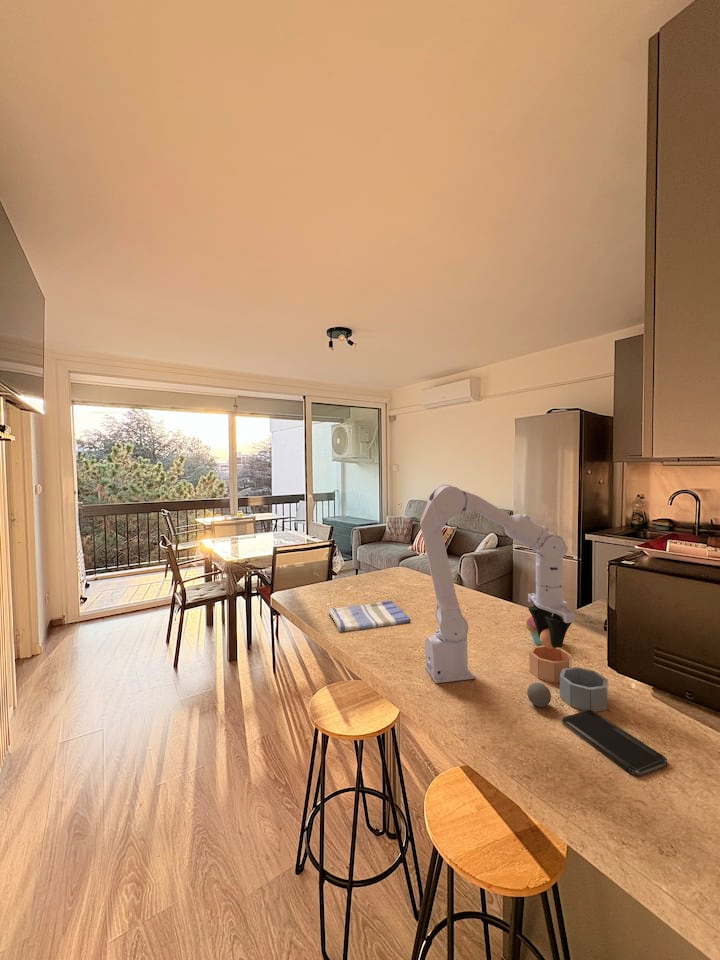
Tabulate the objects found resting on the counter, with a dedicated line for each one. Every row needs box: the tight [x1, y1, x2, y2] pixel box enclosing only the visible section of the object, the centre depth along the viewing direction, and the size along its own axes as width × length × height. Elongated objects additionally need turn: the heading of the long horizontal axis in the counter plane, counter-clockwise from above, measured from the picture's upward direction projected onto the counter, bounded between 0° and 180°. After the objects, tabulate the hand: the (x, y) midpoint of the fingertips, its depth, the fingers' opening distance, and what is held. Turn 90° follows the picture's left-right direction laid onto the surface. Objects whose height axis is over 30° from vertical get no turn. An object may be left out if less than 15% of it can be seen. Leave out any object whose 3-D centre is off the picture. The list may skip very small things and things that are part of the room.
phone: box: [561, 710, 668, 778], centre depth 72 cm, size 8×1×15 cm
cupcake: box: [525, 616, 543, 646], centre depth 111 cm, size 9×8×12 cm
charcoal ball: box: [527, 682, 552, 708], centre depth 83 cm, size 4×4×4 cm
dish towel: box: [327, 600, 412, 633], centre depth 133 cm, size 17×24×3 cm
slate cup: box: [559, 666, 609, 713], centre depth 85 cm, size 8×8×4 cm
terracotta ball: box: [540, 629, 555, 649], centre depth 95 cm, size 4×4×4 cm
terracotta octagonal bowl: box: [528, 645, 573, 684], centre depth 95 cm, size 8×8×4 cm
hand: (550, 642), depth 95 cm, fingers closed on terracotta ball, 4 cm apart
